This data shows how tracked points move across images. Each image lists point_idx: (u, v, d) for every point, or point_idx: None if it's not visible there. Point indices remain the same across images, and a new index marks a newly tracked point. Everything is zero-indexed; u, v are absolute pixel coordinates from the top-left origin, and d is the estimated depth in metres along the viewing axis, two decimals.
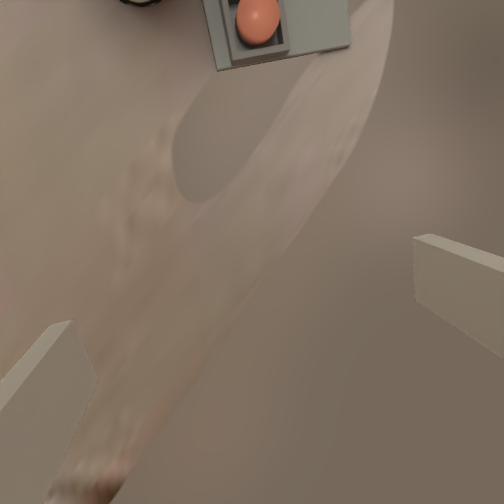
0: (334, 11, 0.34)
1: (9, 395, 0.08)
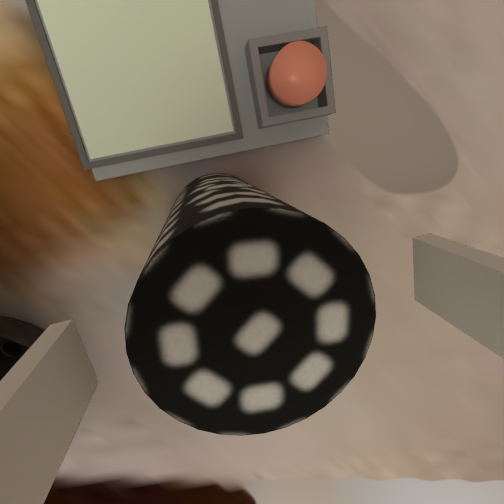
0: None
1: (9, 395, 0.08)
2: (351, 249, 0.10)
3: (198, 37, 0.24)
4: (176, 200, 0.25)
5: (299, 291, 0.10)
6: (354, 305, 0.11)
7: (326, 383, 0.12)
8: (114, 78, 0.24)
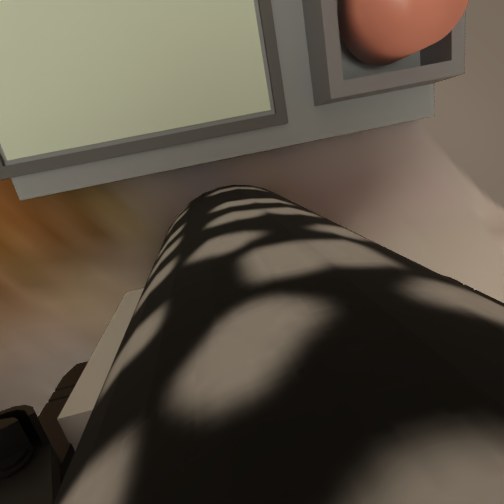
0: None
1: (120, 338, 0.09)
2: None
3: None
4: (166, 238, 0.13)
5: None
6: None
7: None
8: (45, 3, 0.12)
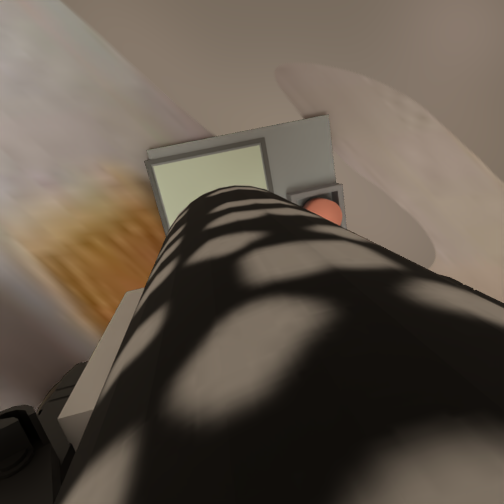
0: (301, 134, 0.35)
1: (120, 338, 0.09)
2: None
3: None
4: (166, 239, 0.13)
5: None
6: None
7: None
8: None
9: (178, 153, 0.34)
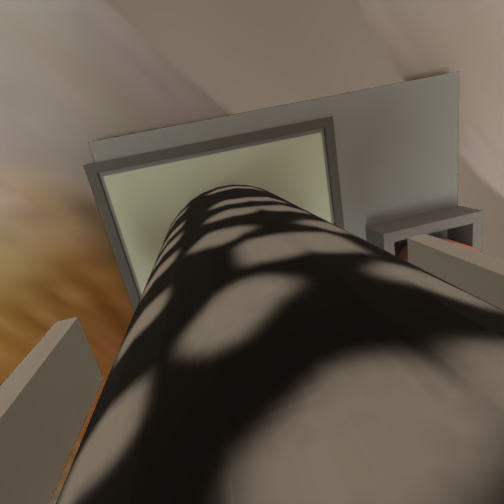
0: (404, 112, 0.18)
1: (18, 390, 0.08)
2: None
3: None
4: (167, 235, 0.14)
5: None
6: None
7: None
8: None
9: (156, 149, 0.16)
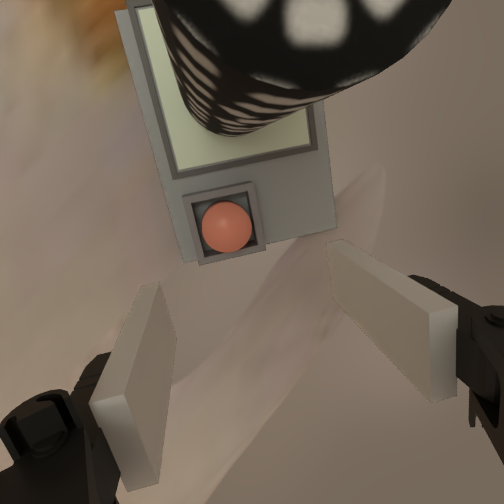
0: (317, 197, 0.30)
1: (141, 329, 0.10)
2: (413, 44, 0.08)
3: (256, 138, 0.27)
4: None
5: None
6: (338, 54, 0.08)
7: (213, 8, 0.07)
8: None
9: None
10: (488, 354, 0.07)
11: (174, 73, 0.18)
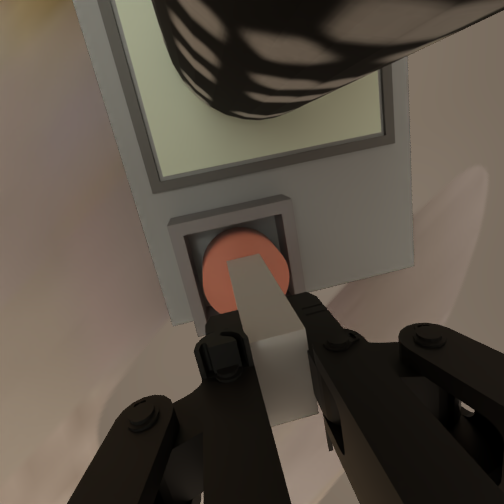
0: (387, 220, 0.19)
1: (254, 291, 0.10)
2: None
3: (294, 123, 0.16)
4: None
5: None
6: None
7: None
8: None
9: None
10: (327, 383, 0.07)
11: None
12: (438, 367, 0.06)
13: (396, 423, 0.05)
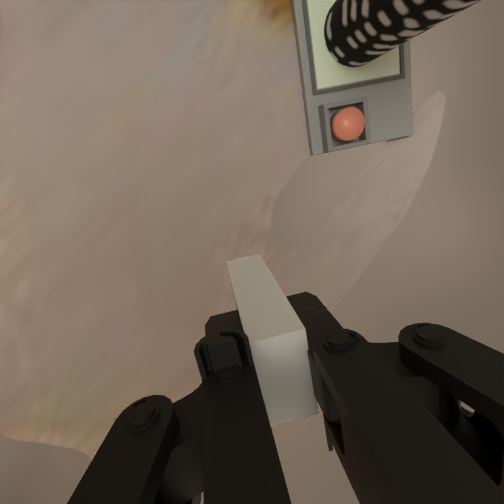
0: (401, 112, 0.45)
1: (254, 291, 0.10)
2: None
3: (366, 69, 0.42)
4: None
5: None
6: None
7: None
8: None
9: None
10: (327, 383, 0.07)
11: (353, 13, 0.33)
12: (438, 367, 0.06)
13: (396, 423, 0.05)
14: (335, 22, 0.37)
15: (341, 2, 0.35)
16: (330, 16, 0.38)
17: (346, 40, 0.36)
